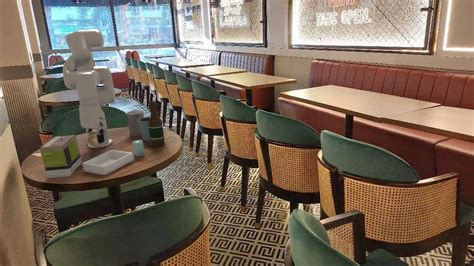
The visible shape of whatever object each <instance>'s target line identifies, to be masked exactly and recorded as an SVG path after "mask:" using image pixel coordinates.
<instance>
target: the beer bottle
mask: <svg viewBox="0 0 474 266" xmlns="http://www.w3.org/2000/svg"><path fill="white" fill-rule="evenodd" d="M148 105H149V110H150V111H149V112H150V116H149V117H150V119H149V122H148V127H149V135H150V141H149V142H150V146H151V147H153V148H159V147H160V148H161V147H163V146H165V134H164V125H163V121H162V120H163V119H162V118H161V117H160V116H159V114H158V107H157V102H156V101H155V100H151V101H149V102H148Z"/></svg>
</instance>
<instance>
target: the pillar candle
mask: <svg viewBox="0 0 474 266" xmlns="http://www.w3.org/2000/svg"><path fill="white" fill-rule="evenodd" d="M144 117H145V114H144V110H141V109H140V110H139V109H137V110H135V109H134V110H130V111H127V112H126V118H127V123H128V124H127V125H128V131H129V136H131V137H140V136H141V137H142V133H141V128H140V126H139V122H138V120H139V119H141V118H144Z"/></svg>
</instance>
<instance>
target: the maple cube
mask: <svg viewBox="0 0 474 266" xmlns="http://www.w3.org/2000/svg"><path fill="white" fill-rule="evenodd" d="M99 131H100V130H99ZM97 135H98V133H97V131H96V130H93V131H91V132H88V133H86V138H88V140H87V143H89V144H94V145H98V144H99V143H98V138H97ZM104 139H105V135H104ZM105 141H106V140H105Z"/></svg>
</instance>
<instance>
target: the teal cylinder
mask: <svg viewBox="0 0 474 266" xmlns="http://www.w3.org/2000/svg"><path fill="white" fill-rule="evenodd" d="M131 143H132V149H133V157H136V158H137V157H142V156H144V155H145V153H146V152H145V147H144V141H143V139H136V140H132V142H131Z"/></svg>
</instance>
